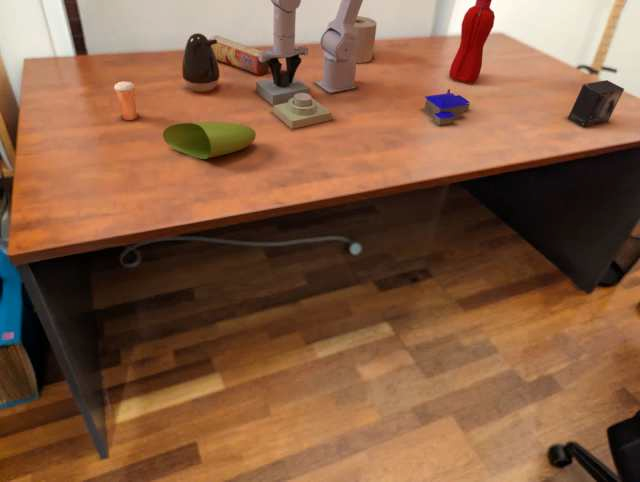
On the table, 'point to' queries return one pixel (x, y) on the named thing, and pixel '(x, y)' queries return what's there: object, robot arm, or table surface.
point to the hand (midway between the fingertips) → (283, 83)
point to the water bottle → (472, 42)
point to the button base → (301, 113)
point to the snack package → (238, 55)
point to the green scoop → (208, 138)
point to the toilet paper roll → (364, 39)
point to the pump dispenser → (200, 64)
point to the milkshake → (126, 99)
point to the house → (445, 107)
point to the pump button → (302, 100)
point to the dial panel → (280, 91)
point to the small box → (595, 103)
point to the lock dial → (284, 78)
